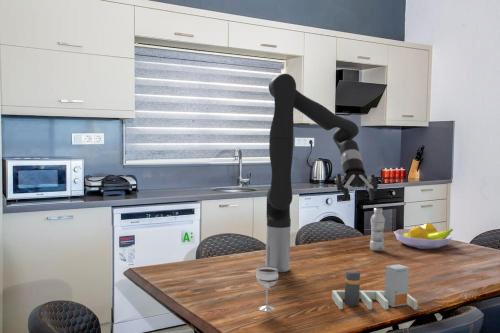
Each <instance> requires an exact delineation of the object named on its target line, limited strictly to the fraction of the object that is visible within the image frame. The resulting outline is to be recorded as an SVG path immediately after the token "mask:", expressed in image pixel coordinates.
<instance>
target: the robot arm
mask: <svg viewBox="0 0 500 333" xmlns="http://www.w3.org/2000/svg"><path fill="white" fill-rule="evenodd" d="M268 92H269V93H270V96H271V97H273V99H274V112H273V117H272V122H271V125H270V130H269V144H268V146H269V147H268V150H269V151H268V152H269V162H270V167H271V168H270V170H271V181H270V182H271V183H270V188H268V190H267V193H266V239H265V240H266V241H265V242H266V243H265V260H264V261H265V262H264V264H265V265H264V266H272V267H276V268H278V269H279V270H278V272H277V273H286V272H288V271H290V257H291V256H290V254H291V229H292V228H291V223H292V222H291V220H292V219H291V204H292V201H293V189H292V188H293V187H292V166H293V159H294V158H293V156H294V141H295V140H294V123H295V122H294V110H297V111H299V112H300V113H302V114H303V115H304V116H306V117H307V118H308V119H310V120H311V121H313V122H314V123H315V124H317V125H318V126H319V127H320V128H322V129H323V130H325V131H331V130H333V129H334V128H337V129H336V130H335V131H334V132H333V134H332V139H333V142H334V143H335V144H336V146H337V148H338V150H339V152H340V157H341V160H340V161H341V166H342V167H341V168H342V171H343V175H341V174H340V173H338V174H336V178H335V180H336V190H337V191H338V192H340V191H341V192H342V193H343V198H344V199H345V200H346V201H349V199H350V191H349V189H350V188H351V187H352V188H362V189H363V190H366V191H367V192H368V196H369V200H370V201H374V199H375V197H376V196H375V192H377V190H378V188H379V185H378V182H377V178H376V176H375V175H374V174H371V175H367V174H366V171H365V168H364V167H365V166H364V163H363V158H362V156H361V154H360V148H359V145H358V143H357V142H356V141H355V140H354V138H356V137H358V134H359V133H360V130H359V126H358V125H357V123H355V122H354V121H352V120H350V119H348V118H345V117H342V116H339V115H338V114H335V113H334V112H332V111H331V110H330V109H328V108H327V107H326V106H324V105H322V104H320V103H319V102H317V101H315V100H313V99H311V98H309V97H307V96H306V95H304V94H302V93H301V92H300V91H299V90H297V82H296V79H295V78H294V76H292V75H291V74H289V73H280V74H278V75H276V76H274V77H273V78H271V80H270V81H269V84H268ZM342 181H344V182H345V184H344V185H343V183H342Z"/></svg>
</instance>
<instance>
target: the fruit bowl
mask: <svg viewBox="0 0 500 333" xmlns="http://www.w3.org/2000/svg"><path fill="white" fill-rule="evenodd" d="M453 231H454V229H453V228H450V229H449V230H440V231H438V230H437V227H436V226H435V225H433V223H432V222H431V223H430V222H427V223H424V224H423V225H420V226H417V225H416V226H414V227H412V228H410V229H409V228H407V229H406V228H404V229H402V228H401V229H397V230H395V231H393V233H394V235H395V238H396V239H397V241H399V242H401V243H403V244H405V245H406V246H409V247H413V248H416V249H420V250H421V249H422V250H425V249H427V250H429V249H438V248H441V247H443V246H447V245H449V243H450V242H451V240H452V238H453V236H452V235H450V234H451V232H453Z"/></svg>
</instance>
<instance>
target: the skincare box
mask: <svg viewBox="0 0 500 333" xmlns="http://www.w3.org/2000/svg"><path fill="white" fill-rule="evenodd" d="M384 273H385V274H384V275H385V278H384V290H383V291H384V297H385V298H386V299H387V300H388V301H389V302H388V306H390V307H392V308H394V307H401V306H407V305H408V304H407V296H408V294H409V293H408V292H409V291H408V290H409V278H410V277H409V276H410V275H409V274H410V267H408V266H405V265H402V264H390V265H386V266H385V272H384Z"/></svg>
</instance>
